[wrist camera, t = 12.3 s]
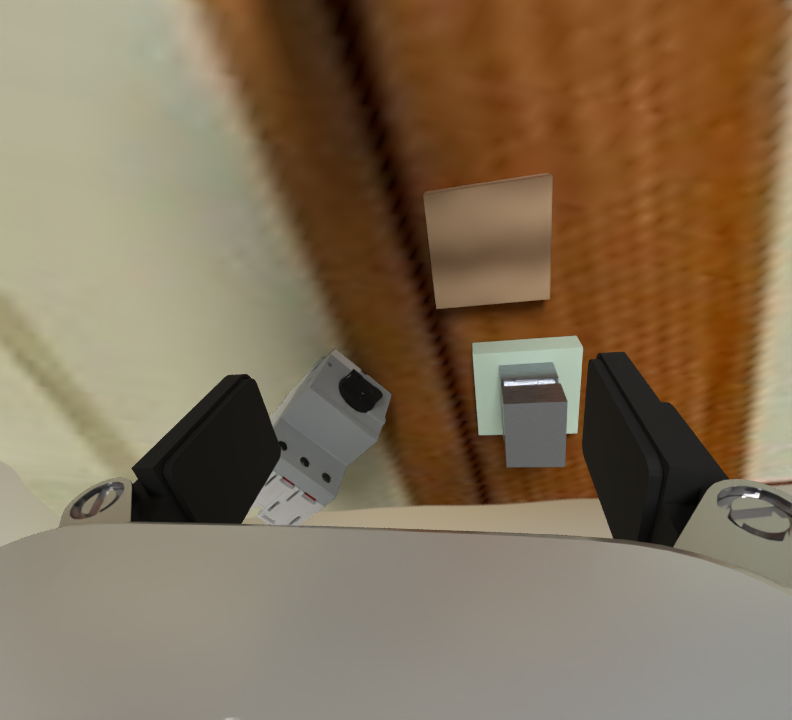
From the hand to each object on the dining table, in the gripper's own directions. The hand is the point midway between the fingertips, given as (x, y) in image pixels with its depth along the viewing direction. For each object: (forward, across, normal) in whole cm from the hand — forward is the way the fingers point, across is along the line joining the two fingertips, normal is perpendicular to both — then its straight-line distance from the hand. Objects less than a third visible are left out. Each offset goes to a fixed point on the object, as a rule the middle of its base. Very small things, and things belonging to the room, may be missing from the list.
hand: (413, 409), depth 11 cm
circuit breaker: (+28, +14, +16) cm, 36 cm away
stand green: (+28, -6, +17) cm, 34 cm away
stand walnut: (+28, -3, +2) cm, 29 cm away
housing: (+26, -6, +17) cm, 31 cm away
